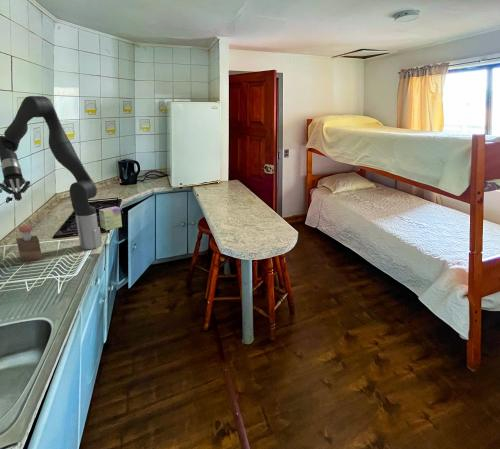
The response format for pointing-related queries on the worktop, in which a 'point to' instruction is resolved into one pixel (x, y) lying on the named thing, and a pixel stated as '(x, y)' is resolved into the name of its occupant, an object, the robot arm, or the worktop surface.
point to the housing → (29, 249)
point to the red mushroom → (26, 232)
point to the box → (110, 218)
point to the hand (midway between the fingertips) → (18, 199)
